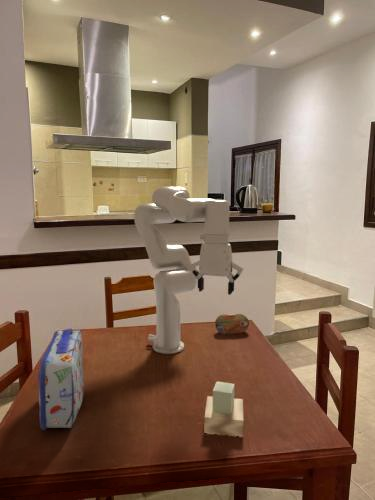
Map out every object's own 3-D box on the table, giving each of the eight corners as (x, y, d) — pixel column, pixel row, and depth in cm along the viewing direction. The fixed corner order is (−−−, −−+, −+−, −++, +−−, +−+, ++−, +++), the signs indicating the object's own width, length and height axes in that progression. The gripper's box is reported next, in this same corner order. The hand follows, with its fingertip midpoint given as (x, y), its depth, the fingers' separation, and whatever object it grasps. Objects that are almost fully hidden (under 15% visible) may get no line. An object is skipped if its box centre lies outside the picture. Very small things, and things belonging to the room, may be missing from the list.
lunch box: (52, 385, 121) (49, 320, 117) (85, 382, 123) (83, 318, 119) (36, 441, 94) (31, 359, 90) (79, 436, 96) (75, 356, 92)
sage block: (212, 411, 99) (212, 390, 98) (216, 401, 104) (216, 381, 103) (231, 414, 98) (231, 393, 97) (234, 404, 103) (234, 383, 102)
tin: (215, 334, 164) (215, 316, 163) (214, 331, 167) (214, 313, 166) (248, 333, 166) (249, 314, 164) (246, 330, 169) (247, 312, 168)
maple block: (204, 434, 98) (204, 417, 97) (207, 412, 107) (207, 396, 107) (242, 438, 96) (243, 420, 95) (242, 415, 106) (242, 399, 105)
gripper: (186, 239, 117) (186, 292, 120) (241, 242, 111) (239, 298, 114) (194, 236, 124) (193, 286, 127) (246, 239, 118) (244, 291, 121)
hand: (215, 292), depth 120 cm, fingers open, 9 cm apart
